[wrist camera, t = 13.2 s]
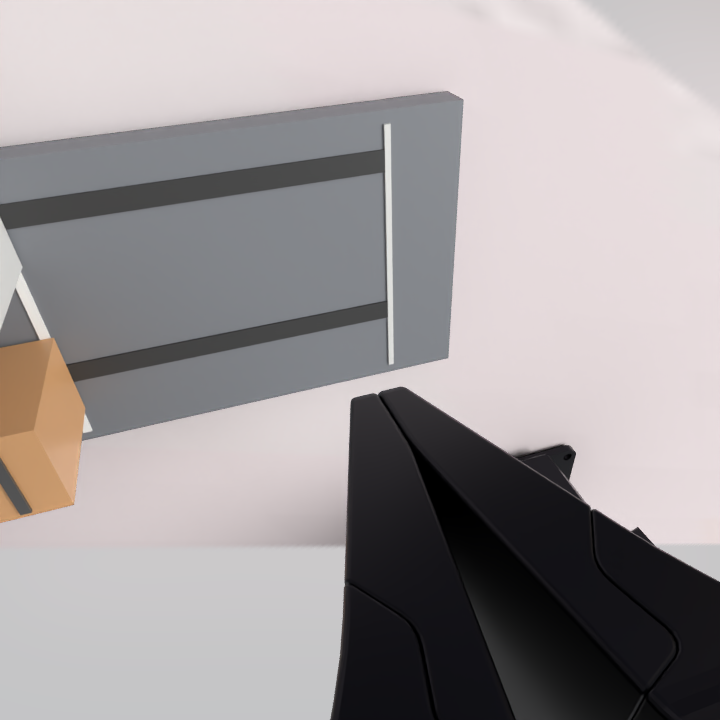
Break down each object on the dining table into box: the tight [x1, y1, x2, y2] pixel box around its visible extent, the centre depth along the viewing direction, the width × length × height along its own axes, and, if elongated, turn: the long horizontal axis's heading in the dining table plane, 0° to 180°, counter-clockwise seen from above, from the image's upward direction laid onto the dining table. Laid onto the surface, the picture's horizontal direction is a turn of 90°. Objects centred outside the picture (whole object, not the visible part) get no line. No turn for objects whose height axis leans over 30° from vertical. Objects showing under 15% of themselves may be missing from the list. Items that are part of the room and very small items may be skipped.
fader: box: [0, 338, 85, 523], centre depth 17 cm, size 3×2×4 cm
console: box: [0, 91, 463, 441], centre depth 19 cm, size 10×20×1 cm, turn 93°
